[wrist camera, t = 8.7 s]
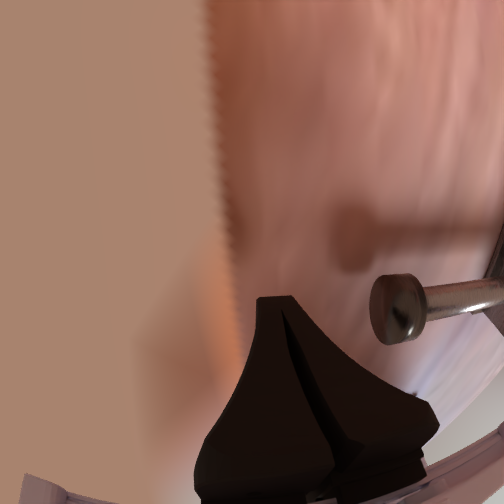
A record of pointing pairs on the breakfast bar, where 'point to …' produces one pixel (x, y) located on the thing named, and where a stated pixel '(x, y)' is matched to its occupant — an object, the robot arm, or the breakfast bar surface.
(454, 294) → the shaft
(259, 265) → the breakfast bar surface
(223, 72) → the breakfast bar surface
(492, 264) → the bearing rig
